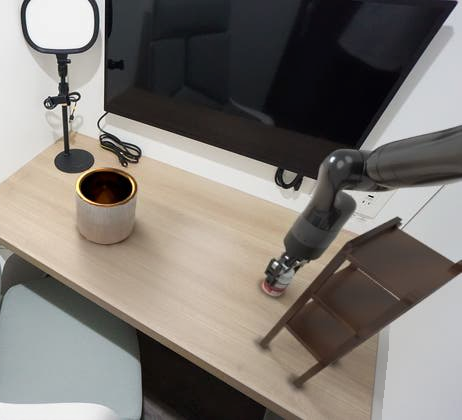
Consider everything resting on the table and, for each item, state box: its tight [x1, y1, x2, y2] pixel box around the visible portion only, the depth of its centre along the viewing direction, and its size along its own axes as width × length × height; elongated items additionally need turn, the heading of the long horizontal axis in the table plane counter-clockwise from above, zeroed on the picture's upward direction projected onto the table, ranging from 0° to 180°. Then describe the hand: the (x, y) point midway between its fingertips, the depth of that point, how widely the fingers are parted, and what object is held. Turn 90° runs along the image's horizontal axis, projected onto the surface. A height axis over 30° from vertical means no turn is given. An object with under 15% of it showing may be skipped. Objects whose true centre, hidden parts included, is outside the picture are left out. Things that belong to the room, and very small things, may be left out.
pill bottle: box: [262, 264, 296, 297], centre depth 78 cm, size 5×5×8 cm
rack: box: [258, 215, 462, 389], centre depth 57 cm, size 10×12×36 cm
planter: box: [74, 166, 139, 245], centre depth 92 cm, size 18×18×16 cm
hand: (279, 278), depth 77 cm, fingers open, 6 cm apart
